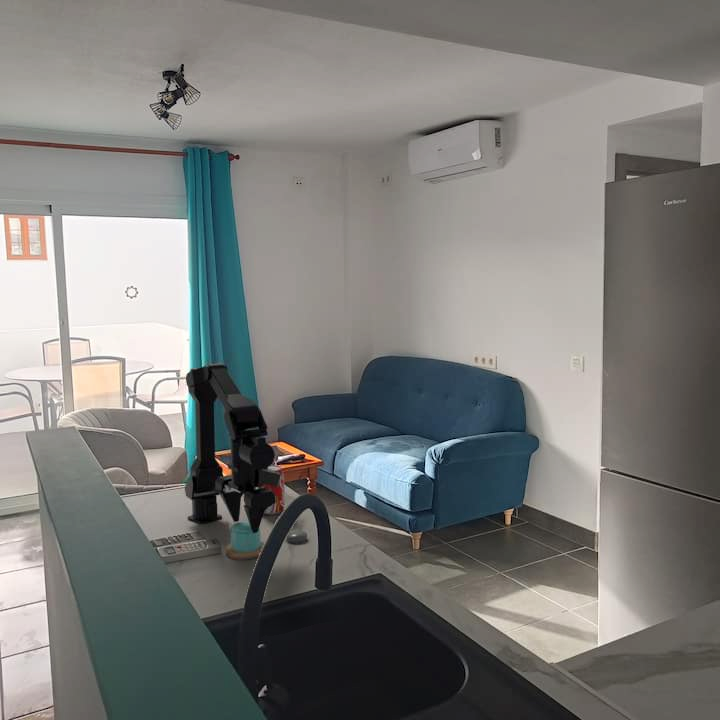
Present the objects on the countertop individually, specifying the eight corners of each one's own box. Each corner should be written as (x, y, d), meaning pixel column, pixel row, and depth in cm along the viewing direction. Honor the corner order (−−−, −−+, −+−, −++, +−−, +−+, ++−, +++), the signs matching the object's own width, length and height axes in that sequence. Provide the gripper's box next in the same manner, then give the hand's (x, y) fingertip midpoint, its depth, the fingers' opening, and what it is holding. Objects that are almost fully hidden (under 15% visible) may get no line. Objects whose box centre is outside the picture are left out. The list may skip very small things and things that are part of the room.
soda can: (280, 516, 187) (279, 472, 186) (254, 515, 189) (253, 470, 187) (288, 508, 194) (287, 465, 193) (263, 506, 196) (262, 463, 194)
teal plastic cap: (238, 541, 166) (237, 520, 166) (263, 543, 165) (262, 522, 165) (228, 550, 161) (228, 529, 160) (254, 552, 159) (253, 531, 159)
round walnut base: (217, 552, 163) (217, 543, 162) (248, 541, 169) (248, 532, 169) (243, 562, 157) (243, 553, 156) (274, 551, 163) (274, 541, 163)
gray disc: (281, 540, 171) (281, 534, 171) (297, 535, 174) (297, 529, 174) (295, 546, 167) (295, 539, 167) (311, 540, 171) (311, 534, 171)
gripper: (296, 462, 158) (297, 530, 160) (256, 446, 173) (257, 509, 175) (251, 470, 151) (253, 541, 153) (213, 453, 166) (215, 518, 168)
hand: (245, 526), depth 162 cm, fingers open, 9 cm apart
